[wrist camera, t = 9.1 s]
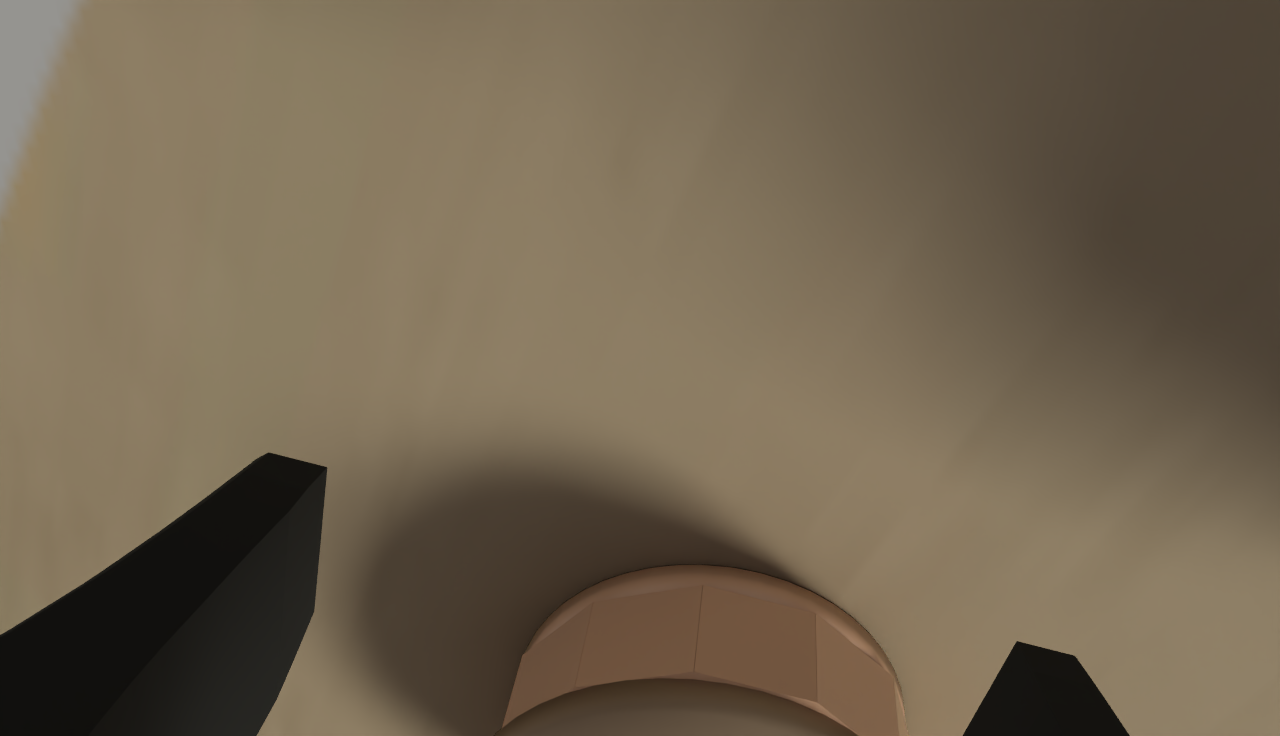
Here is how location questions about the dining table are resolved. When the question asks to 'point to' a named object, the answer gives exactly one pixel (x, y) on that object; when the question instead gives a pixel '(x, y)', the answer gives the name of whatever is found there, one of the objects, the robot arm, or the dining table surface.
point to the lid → (671, 712)
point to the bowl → (714, 644)
